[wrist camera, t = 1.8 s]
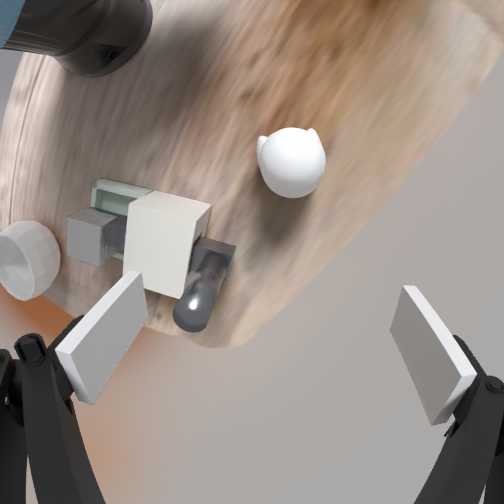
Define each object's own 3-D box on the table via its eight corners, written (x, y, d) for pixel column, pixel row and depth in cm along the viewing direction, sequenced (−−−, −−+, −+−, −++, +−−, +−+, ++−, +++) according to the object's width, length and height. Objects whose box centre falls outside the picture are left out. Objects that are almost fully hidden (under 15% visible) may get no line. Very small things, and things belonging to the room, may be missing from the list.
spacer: (83, 243, 35) (66, 255, 31) (85, 207, 33) (66, 216, 29) (114, 254, 35) (99, 267, 31) (117, 216, 33) (100, 226, 29)
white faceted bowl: (23, 206, 40) (-15, 223, 31) (71, 219, 40) (32, 240, 31) (28, 267, 45) (-4, 290, 36) (74, 286, 45) (42, 314, 36)
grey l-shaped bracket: (91, 228, 37) (25, 269, 24) (92, 206, 36) (23, 242, 23) (230, 269, 38) (206, 338, 25) (236, 246, 36) (213, 308, 23)
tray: (97, 242, 41) (88, 248, 39) (103, 178, 37) (92, 181, 35) (144, 256, 41) (136, 264, 39) (153, 190, 38) (145, 194, 35)
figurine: (313, 126, 33) (330, 121, 22) (323, 187, 36) (343, 209, 25) (255, 135, 34) (244, 134, 23) (266, 195, 37) (261, 221, 26)
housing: (145, 257, 41) (122, 280, 34) (155, 190, 38) (129, 203, 31) (197, 272, 41) (181, 299, 34) (211, 204, 38) (196, 221, 31)
